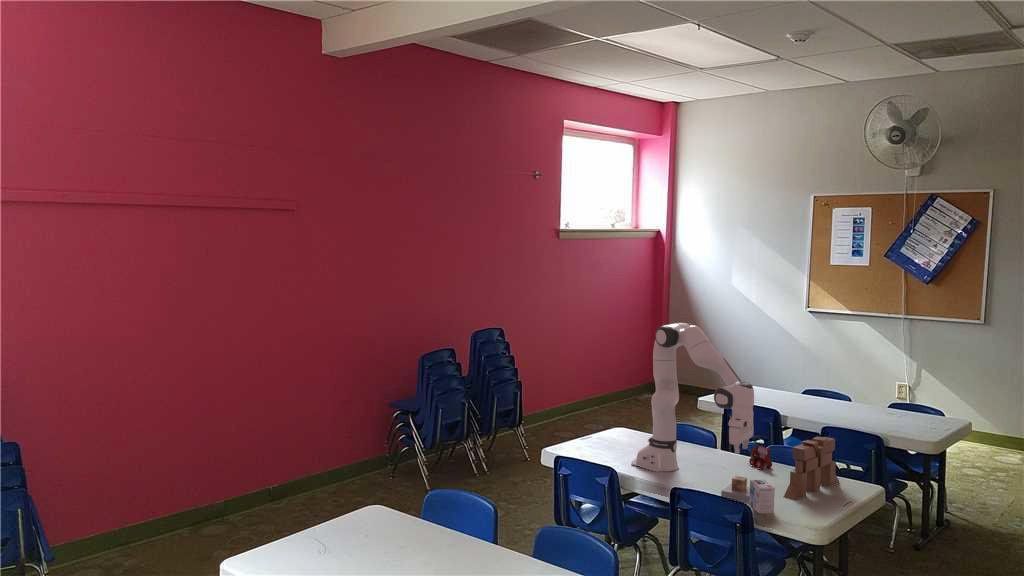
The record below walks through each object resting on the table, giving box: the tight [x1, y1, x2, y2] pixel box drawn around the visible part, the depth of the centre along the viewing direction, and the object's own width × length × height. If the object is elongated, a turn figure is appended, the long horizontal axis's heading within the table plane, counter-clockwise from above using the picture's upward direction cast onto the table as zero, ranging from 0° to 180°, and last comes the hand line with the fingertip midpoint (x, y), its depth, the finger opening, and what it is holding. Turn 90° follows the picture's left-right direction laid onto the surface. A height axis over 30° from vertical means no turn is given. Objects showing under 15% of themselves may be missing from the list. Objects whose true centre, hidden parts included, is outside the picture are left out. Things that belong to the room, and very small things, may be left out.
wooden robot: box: [783, 436, 840, 501], centre depth 350 cm, size 40×9×23 cm, turn 132°
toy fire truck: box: [748, 444, 773, 470], centre depth 385 cm, size 7×12×10 cm, turn 22°
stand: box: [720, 483, 750, 503], centre depth 341 cm, size 12×12×2 cm
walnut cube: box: [731, 475, 748, 492], centre depth 341 cm, size 5×5×5 cm
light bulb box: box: [748, 479, 776, 514], centre depth 324 cm, size 11×7×11 cm, turn 5°
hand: (741, 451), depth 341 cm, fingers open, 8 cm apart
